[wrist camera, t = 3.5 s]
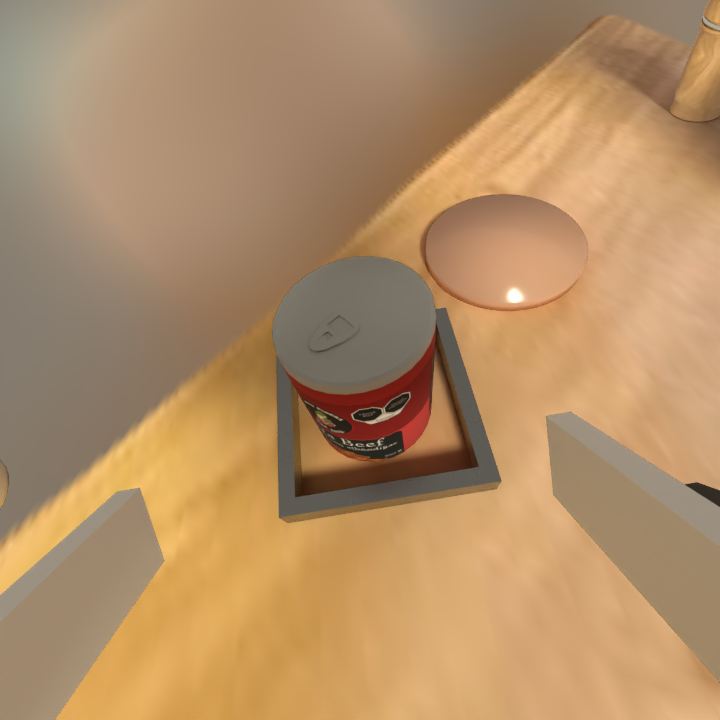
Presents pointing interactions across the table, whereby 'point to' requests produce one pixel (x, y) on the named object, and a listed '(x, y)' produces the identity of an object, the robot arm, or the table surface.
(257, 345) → the table surface
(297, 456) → the square metal frame
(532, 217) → the terracotta plate
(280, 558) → the table surface
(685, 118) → the cup with straw
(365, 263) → the canned food
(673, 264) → the table surface
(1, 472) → the milk bottle
